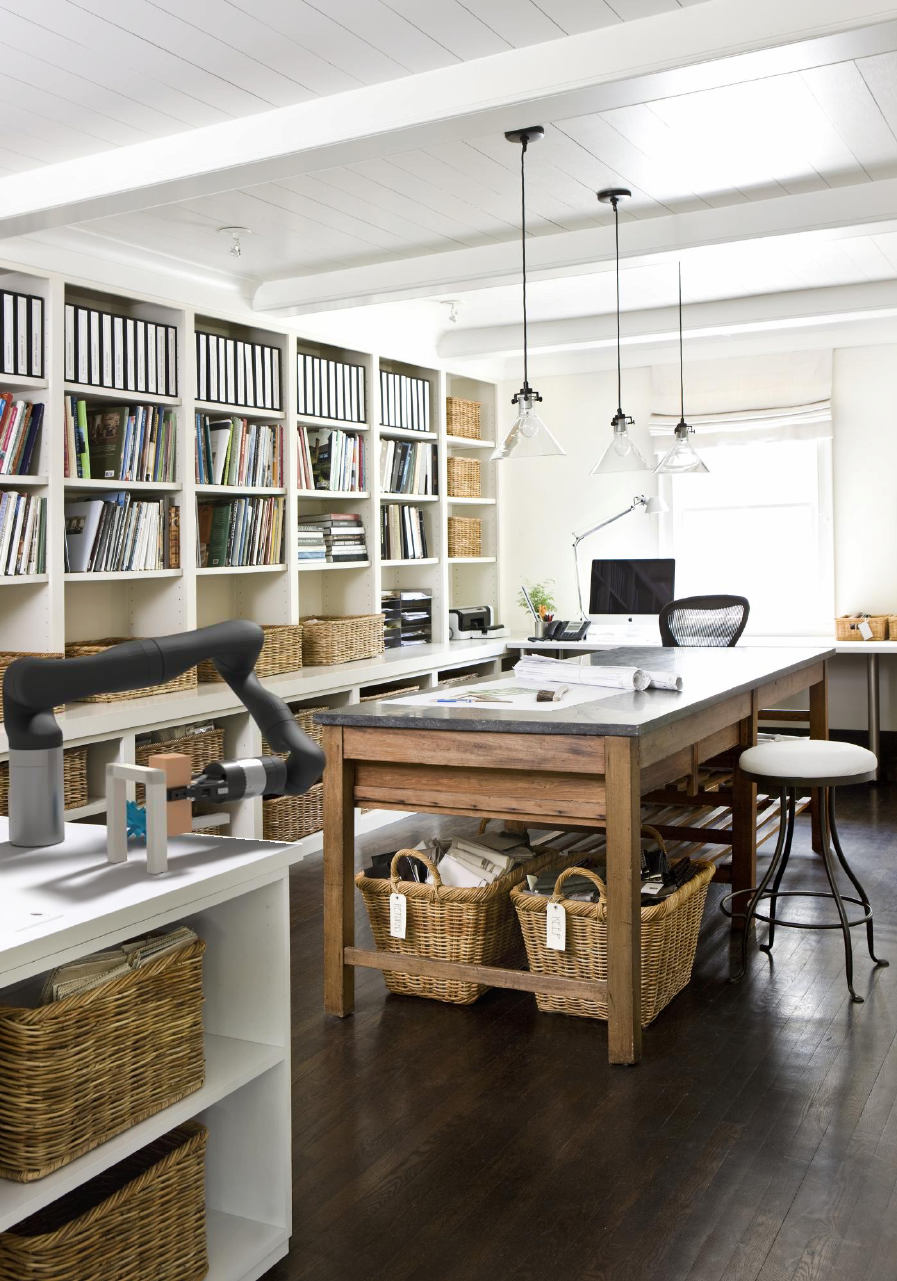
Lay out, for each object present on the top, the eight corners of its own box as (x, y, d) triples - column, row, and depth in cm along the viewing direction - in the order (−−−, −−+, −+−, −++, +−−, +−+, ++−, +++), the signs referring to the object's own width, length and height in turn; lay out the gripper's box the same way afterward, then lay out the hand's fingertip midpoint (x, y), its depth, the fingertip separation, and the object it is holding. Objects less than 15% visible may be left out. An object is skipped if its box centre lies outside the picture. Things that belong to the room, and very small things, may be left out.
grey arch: (107, 861, 193) (105, 763, 192) (120, 858, 195) (118, 761, 194) (154, 874, 184) (153, 772, 183) (167, 871, 186) (166, 770, 185)
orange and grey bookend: (149, 832, 194) (148, 755, 193) (218, 820, 204) (217, 747, 203) (166, 836, 190) (165, 759, 190) (235, 824, 201) (234, 750, 200)
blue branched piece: (147, 841, 200) (113, 798, 202) (124, 863, 201) (90, 821, 203) (176, 835, 211) (144, 795, 213) (154, 857, 212) (122, 816, 214)
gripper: (261, 806, 200) (181, 821, 187) (208, 795, 209) (129, 809, 196) (261, 763, 200) (181, 775, 187) (208, 755, 209) (129, 766, 196)
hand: (155, 793), depth 191 cm, fingers closed on orange and grey bookend, 5 cm apart
